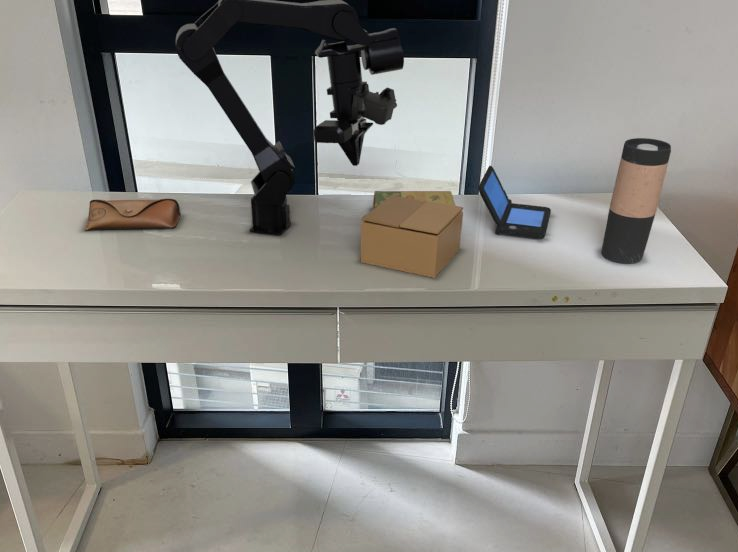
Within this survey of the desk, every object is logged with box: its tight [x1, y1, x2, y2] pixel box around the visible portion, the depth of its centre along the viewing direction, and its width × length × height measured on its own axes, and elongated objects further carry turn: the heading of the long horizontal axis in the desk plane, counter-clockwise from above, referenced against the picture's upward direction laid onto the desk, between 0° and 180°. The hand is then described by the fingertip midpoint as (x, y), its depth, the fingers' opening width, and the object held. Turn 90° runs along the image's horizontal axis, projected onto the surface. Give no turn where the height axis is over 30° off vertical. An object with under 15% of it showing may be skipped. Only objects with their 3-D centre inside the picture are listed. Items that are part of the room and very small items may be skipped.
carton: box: [372, 190, 456, 210], centre depth 145 cm, size 8×16×4 cm, turn 88°
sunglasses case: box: [84, 198, 181, 231], centre depth 143 cm, size 18×7×7 cm, turn 94°
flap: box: [361, 195, 425, 228], centre depth 127 cm, size 7×13×1 cm, turn 153°
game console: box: [478, 165, 552, 240], centre depth 141 cm, size 16×14×9 cm
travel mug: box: [601, 137, 672, 265], centre depth 125 cm, size 8×8×20 cm
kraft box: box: [360, 201, 464, 279], centre depth 128 cm, size 14×13×8 cm
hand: (355, 165), depth 138 cm, fingers closed
